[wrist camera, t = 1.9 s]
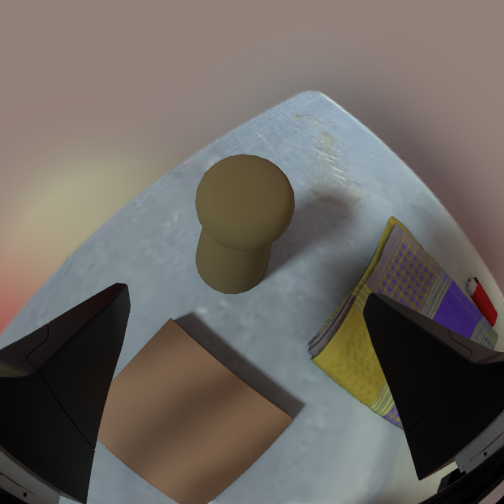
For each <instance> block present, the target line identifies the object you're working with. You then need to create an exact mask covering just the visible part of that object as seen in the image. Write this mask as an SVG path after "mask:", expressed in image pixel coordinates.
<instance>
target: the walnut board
mask: <svg viewBox="0 0 504 504" xmlns="http://www.w3.org/2000/svg"><path fill="white" fill-rule="evenodd" d="M292 421H293V418H292V417H291V416H289V415H288V414H287V413H285V412H284V411H282V410H281V409H280V408H278V407H277V406H275V405H274V404H273V403H271V402H270V401H269V400H267V399H266V398H265V397H263V396H262V395H261V394H259V393H258V392H257V391H255V390H254V389H253V388H251V387H250V386H249V385H248V384H246V383H245V382H244V381H243V380H241V379H240V378H239V377H237V376H236V375H235V374H234V373H233V372H231V371H230V370H229V369H228V368H226V367H225V366H224V365H223V364H222V363H221V362H219V361H218V360H217V359H216V358H215V357H213V356H212V355H211V354H210V353H209V352H208V351H207V350H205V349H204V348H203V347H202V346H201V345H200V344H199V343H198V342H196V341H195V340H194V339H193V338H192V337H191V336H190V335H189V334H188V333H187V332H185V331H184V330H183V329H182V328H181V327H180V326H179V325H178V324H177V323H176V322H175V321H174V320H173V319H171V318H170V319H169V320H168V321H167V322H166V323H165V324H164V326H163V327H162V328H161V329H160V330H159V331H158V332H157V333H156V334H155V335H154V336H153V337H152V338H151V339H150V340H149V342H148V343H147V344H146V345H145V346H144V347H143V348H142V349H141V350H140V351H139V352H138V353H137V354H136V356H135V357H134V358H133V359H132V360H131V361H130V362H129V363H128V364H127V365H126V366H125V367H124V369H123V370H122V371H121V372H120V373H119V374H118V375H117V376H116V377H115V378H114V379H113V381H112V382H111V385H110V389H109V392H108V396H107V400H106V404H105V408H104V411H103V416H102V420H101V424H100V428H99V433H98V437H97V439H98V440H99V441H100V442H101V443H102V444H103V445H104V446H105V447H106V448H107V449H108V450H109V451H110V452H111V453H112V454H114V455H115V456H116V457H117V458H118V459H119V460H120V461H122V462H123V463H124V464H125V465H126V466H128V467H129V468H130V469H131V470H133V471H134V472H135V473H136V474H138V475H139V476H140V477H141V478H143V479H144V480H145V481H147V482H148V483H149V484H151V485H152V486H154V487H155V488H156V489H158V490H159V491H161V492H162V493H164V494H165V495H167V496H168V497H170V498H171V499H173V500H174V501H176V502H178V503H179V504H207V503H209V502H210V501H211V500H212V499H213V498H215V497H216V496H217V495H218V494H219V493H221V492H222V491H223V490H224V489H225V488H226V487H228V486H229V485H230V484H231V483H232V482H233V481H234V480H235V479H237V478H238V477H239V476H240V475H241V474H242V473H243V472H244V471H245V470H246V469H247V468H248V467H249V466H250V465H251V464H252V463H253V462H254V461H255V460H256V459H257V458H258V457H259V456H260V455H261V454H262V453H263V452H264V451H265V450H266V449H267V448H268V447H269V446H270V445H271V444H272V443H273V442H274V441H275V440H276V439H277V438H278V436H279V435H280V434H281V433H282V432H283V431H284V430H285V429H286V427H287V426H288V425H289V424H290V423H291V422H292Z"/></svg>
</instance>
